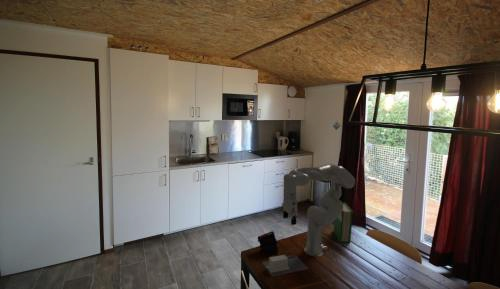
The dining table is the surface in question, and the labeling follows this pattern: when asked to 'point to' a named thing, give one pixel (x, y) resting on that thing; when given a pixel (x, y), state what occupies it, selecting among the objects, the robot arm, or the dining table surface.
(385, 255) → the dining table surface
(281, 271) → the board
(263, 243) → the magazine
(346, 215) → the hardback book
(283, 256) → the plug
